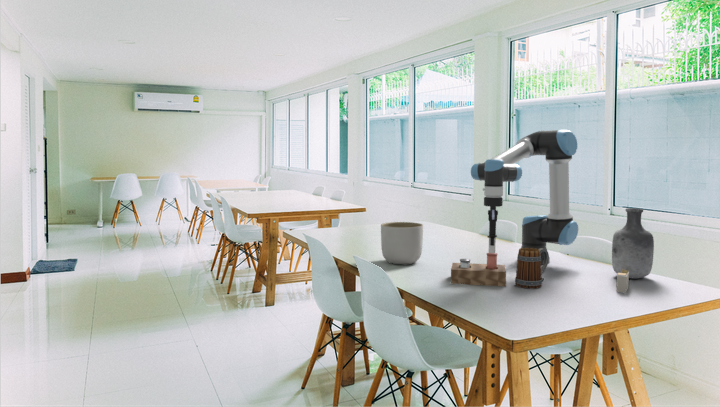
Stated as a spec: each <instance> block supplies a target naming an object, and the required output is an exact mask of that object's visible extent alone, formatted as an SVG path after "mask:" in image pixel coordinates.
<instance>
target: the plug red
mask: <svg viewBox="0 0 720 407" xmlns="http://www.w3.org/2000/svg"><path fill="white" fill-rule="evenodd" d="M497 259H498V253H497V252H495V253H489V252H487V253H486V264H487V269H497V265H498V262H497V261H498V260H497Z"/></svg>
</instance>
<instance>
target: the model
mask: <svg viewBox="0 0 720 407" xmlns="http://www.w3.org/2000/svg"><path fill="white" fill-rule="evenodd" d="M629 279H630V278H629V272H628V270H623V269H622V273H618V274H617V273H616V291H617V292H616V293H622V292H624V293H623V294H626V293H627V291H628V289H629V284H630V280H629Z"/></svg>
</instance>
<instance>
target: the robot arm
mask: <svg viewBox="0 0 720 407" xmlns="http://www.w3.org/2000/svg"><path fill="white" fill-rule="evenodd" d="M577 140H578V139H577V137H576V135H575V134H574V132H572V131H571V130H568V129H555V130H554V129H553V130H552V129H551V130H538V131H535V132H532V133H530V134H528V135H526V136H523V137H522V138H520V139H518V140H517V142H516V143H515V144H514V145H512V146H511V147H509V148H506V149H505V150H503V151H502V152H500V153H498V154H497V155H495V156H493V157H492V158H490V159H486V160H485V161H484V162H482V163H480V162H478V163H474V164H473V165H472V166H471V168H470V175H471V178H472V179H473V180H476V181H484V184H483V186H484V188H482V191H483V192H484V194H483V195H484V196H483V206H485V207H489V209H488V210H487V215H488V217H487V218H488V221H489V223H488V224H489V228H488V230H489V231H488V235H487V238H488V253H496V241H497V240H496V238H497V237H498V235H497V231H496V230H497V221H498V215H499V210H498V209H497V208H498V207H502V206H503V204H504V203H503V196H504V182H507V183H508V182H509V183H510V182H511V183H514V182H517V181H519V180H520V179H522V176H523V169H522V167H521V166H520V165H519V164H517V163H518V162H521V160H523V159H529V158H531V157H533V156H545V161H546V162H547V163H548V172H549V173H548V175H549V177H548V182H549V213H548V215H546V214H540V215H538V214H537V215H528V216H527V215H526V216H525V217H523V218H522V223H521V228H522V229H521V247H520V248H529V249H530V248H534V249H540V248H543V249H546V250H547V251H548V248H547V243H548V244H555V245H559V246H570V245H572V244H573V243H574V242H575V240H576V239H577V236H578V234H579V224H578V222H576V221H575V220H574V216H573V215H572V214H571V213H570V179H569V178H570V177H569V176H570V174H569V172H570V171H569V170H570V167H569V166H570V164H569V162H570V161H572V159H573V156H574V155H575V154H576V153H577V150H578V141H577ZM540 255H541V265H543V263H544V252H543V251H542V252H541V254H540ZM549 263H550V257H549V260H548V264H549Z"/></svg>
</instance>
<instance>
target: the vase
mask: <svg viewBox="0 0 720 407" xmlns="http://www.w3.org/2000/svg"><path fill="white" fill-rule="evenodd" d="M625 212H626V223H625V224H624V226H623V227H622V228H619V229H617V230H616V231H614V233H613V236H612V243H611V265H612V269H613V271H614V273H616V275H617V274H618V273H622V269H623V270H628V272H629V279H632V280H633V279H642V278H645V277H648V276H649V275H650V274H651V271H652V268H653V263H654V262H653V261H654V253H655V252H654V251H655V250H654V249H655V246H654V245H655V244H654V243H655V241H654V236H653V233H652V232H650V231H648V230H646V229H645V228H644V226H643V225H642V213H643V212H644V209H643V208H638V207H637V208H635V207H633V208H632V207H628V208H625Z"/></svg>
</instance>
